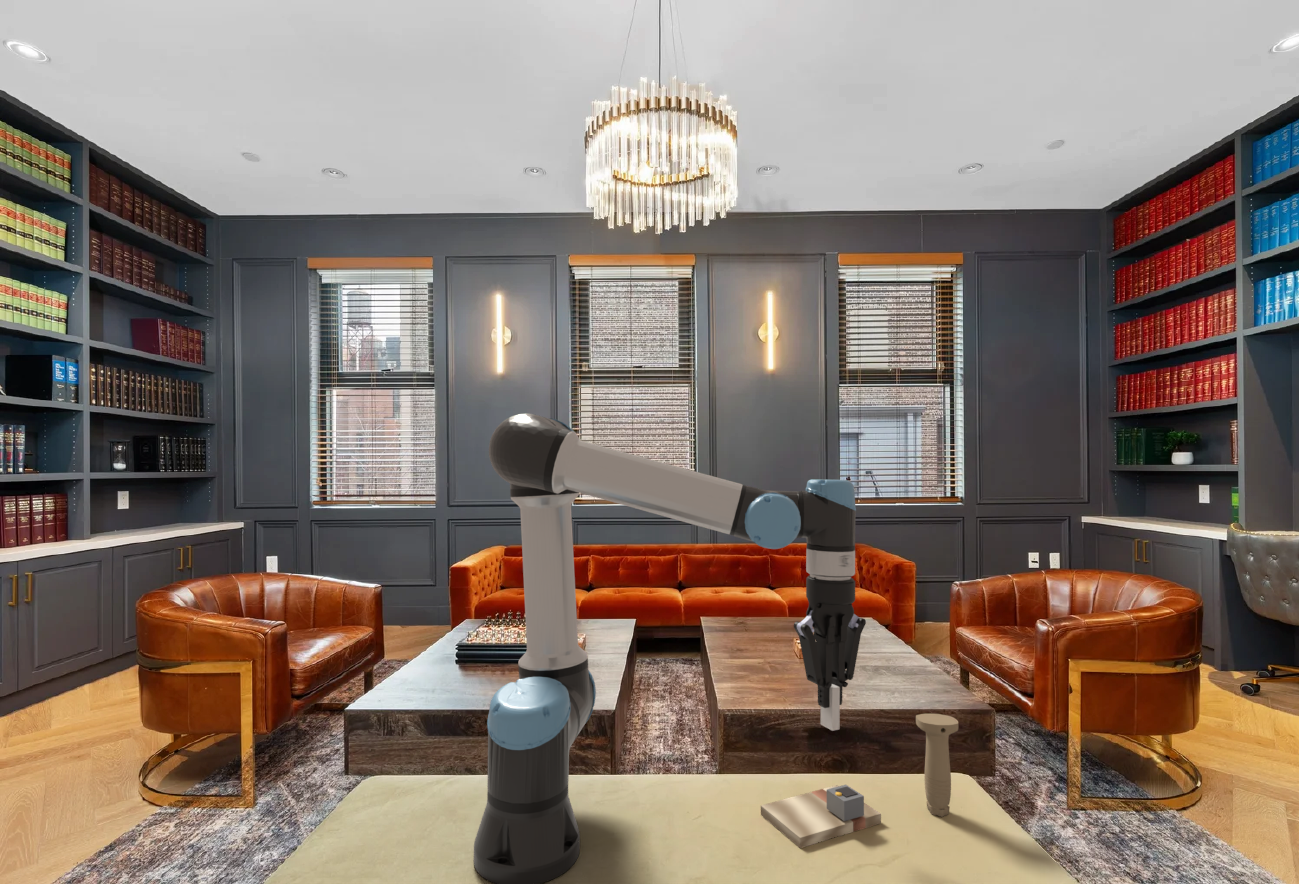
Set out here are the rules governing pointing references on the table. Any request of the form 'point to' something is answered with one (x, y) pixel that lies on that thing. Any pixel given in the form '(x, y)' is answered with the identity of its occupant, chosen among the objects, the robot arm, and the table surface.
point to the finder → (845, 802)
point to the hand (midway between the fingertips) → (829, 726)
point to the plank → (813, 818)
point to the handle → (937, 760)
